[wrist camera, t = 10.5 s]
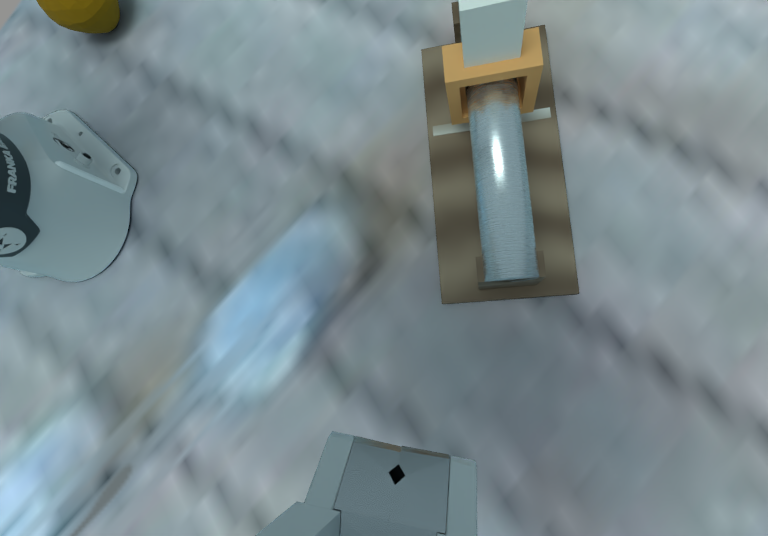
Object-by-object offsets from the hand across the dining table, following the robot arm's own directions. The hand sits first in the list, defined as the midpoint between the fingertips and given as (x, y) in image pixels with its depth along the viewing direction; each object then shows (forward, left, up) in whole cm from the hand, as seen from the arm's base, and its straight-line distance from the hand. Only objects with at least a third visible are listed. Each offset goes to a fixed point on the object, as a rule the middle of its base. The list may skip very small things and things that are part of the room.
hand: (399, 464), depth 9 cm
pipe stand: (-12, +14, -33) cm, 38 cm away
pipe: (-12, +14, -27) cm, 33 cm away
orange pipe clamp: (-16, +16, -28) cm, 36 cm away
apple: (-60, -8, -33) cm, 69 cm away
